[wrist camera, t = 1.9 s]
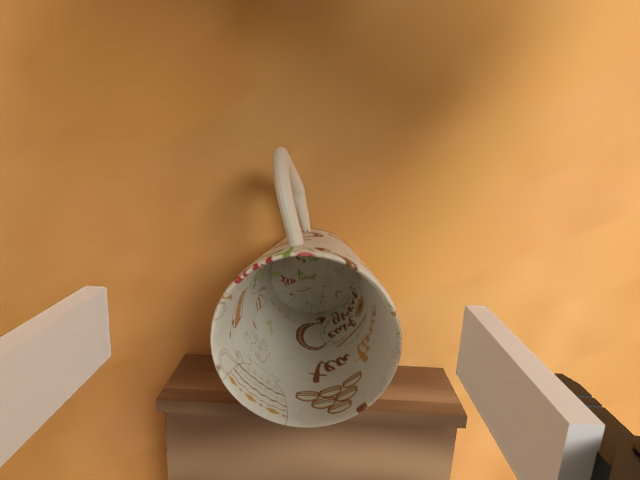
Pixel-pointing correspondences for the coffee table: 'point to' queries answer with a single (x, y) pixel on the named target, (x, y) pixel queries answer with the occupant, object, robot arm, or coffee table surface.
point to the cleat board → (309, 432)
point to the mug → (305, 323)
